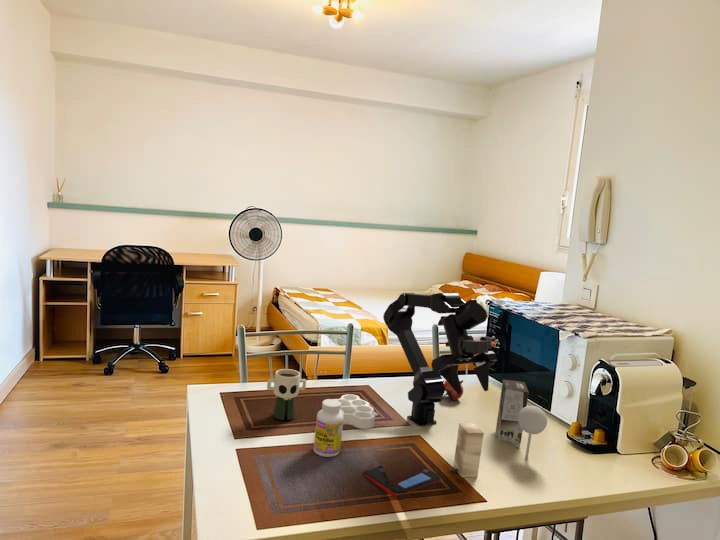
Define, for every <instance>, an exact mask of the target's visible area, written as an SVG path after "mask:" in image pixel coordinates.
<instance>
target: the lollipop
mask: <svg viewBox="0 0 720 540" xmlns="http://www.w3.org/2000/svg"><path fill="white" fill-rule="evenodd" d="M518 422H519V425H520V427H521V428H522V429H523V432H525V433H527V434H528V437H527V444H526V445H527V446H526V451H525V458H526V459H527V460H528V459H529V452H530V448H531V447H530V446H531V440H532V435H537V434H540V433H542V432H543V431H544V430H545V429H546V428H547V425H548V418H547V415H546V413H545V411H544V410H543V409H541V408H540V407H538V406H535V405H527V406H526V407H524V408H523V409H522V410H521V411H520V413H519V415H518Z"/></svg>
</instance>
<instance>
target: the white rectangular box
mask: <svg viewBox="0 0 720 540" xmlns="http://www.w3.org/2000/svg"><path fill="white" fill-rule="evenodd" d="M457 429H458V431H457V437H456V444H455V451H454V459H453V468H449V472H457V473H458V474H459V476H460V477H461V478H478V475H479V468H480V462H481V455H482V447H483V441H484V433H485V432H484V431H483V430H482V429H481V428H480V427H479V426H478V425H477V424H476V423H474V422H471V423H469V422H466V423H462V422H460V423H458V428H457Z"/></svg>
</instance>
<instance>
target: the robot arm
mask: <svg viewBox="0 0 720 540" xmlns="http://www.w3.org/2000/svg"><path fill="white" fill-rule="evenodd" d="M406 307H407V308H406ZM415 307H416V308H428V309H430V310H431V312H434V313H437V314H441V315H442V314H448V315H444V316H443V315H442V316H440V319H439V321H437V326H441V327H442V326H443V330H444V333H445V335H446V342H445V347H446V348H447V347H449V350H450V354H441V355H439V356H438V357H436V358H433V359H432V360H431V368H430V366H429V364H428V361H427V359H426V357H425V355H424V353H423V352H422V349H421V347H420V345H419V343H418V340H417V338H416V336H415V335H414V332H413V330H412V327H413V317H414V315H415V313H416V309H415ZM487 317H488V314H487V310H486V309H485V308H484V307H483V305H481V304H480V303H478V301H477V299H476V298H470V299H468V300H467V301H465V300H463V299H462V298H461V295H460V294H459V293H458V292H457V293H456V292H439V293H433V294H424V293H423V294H420V293H415V292H402V293H400V295H399V296H398V297H397V299H395V300H394V301H393V302H391V303H390V304H389V305H388V306H387V308H386V309H385V311H384V312H383V317H382V318H383V322H384V324H385V326H387V329H388V330H389V331H390V332H391V333H393V334H394V335H395V336H396V337H397V339H398V341H399V343H400V345H401V348H402V350H403V353H404V355H405V357H406V359H407V362H408V364H409V365H410V369H411V371H412V373H413V381H412V385H413V388H412V389H410V390H409V391H408V392H407V399H408V400H409V401H410V402H412V407H411V414H410V415H407V416H406V418H407V419H408V420H410V421H411V422H413V423H414V424H416V425H417V426H420V427H424V426H425V427H426V426H429V425H434V424H437V420H435V413H436V409H435V406H436V404H437V403H441V401H442V399H443V398H442V397H443V396H444V395H445V392H446V391H445V386H444V383H445V381H446V380H447V381H448V383H449V384H450V385H451V386H452V387H453V389H454V390H455V391H456V392H457V393H458V395H460V394H462V390H461V385H462V384H461V385H460V381H461V380H460V377H459V374H458V370H459V365H470V364H472V365H473V366H474V367H473V370H474V373H475V375H476V378H477V379H478V382H479V383H480V385H481V387H482V389H483V390H484V392H488V391H489V382H490V381H489V379H490V378H489V377H490V369H491V367H492V366H494V365H495V362H497V361H498V358H497V354H496V353H495V352H494V351H493V350H489V349H492V347H493V345H492V340H491V338H490V336H481V337H480V338H479V340H474V337H473V336H472V335H469V334H468V331H470V330H471V329H474V328H475V327H477V326H479V325H481V324H482V323H484V322H486V321H487V319H488V318H487ZM444 380H445V381H444Z"/></svg>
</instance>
